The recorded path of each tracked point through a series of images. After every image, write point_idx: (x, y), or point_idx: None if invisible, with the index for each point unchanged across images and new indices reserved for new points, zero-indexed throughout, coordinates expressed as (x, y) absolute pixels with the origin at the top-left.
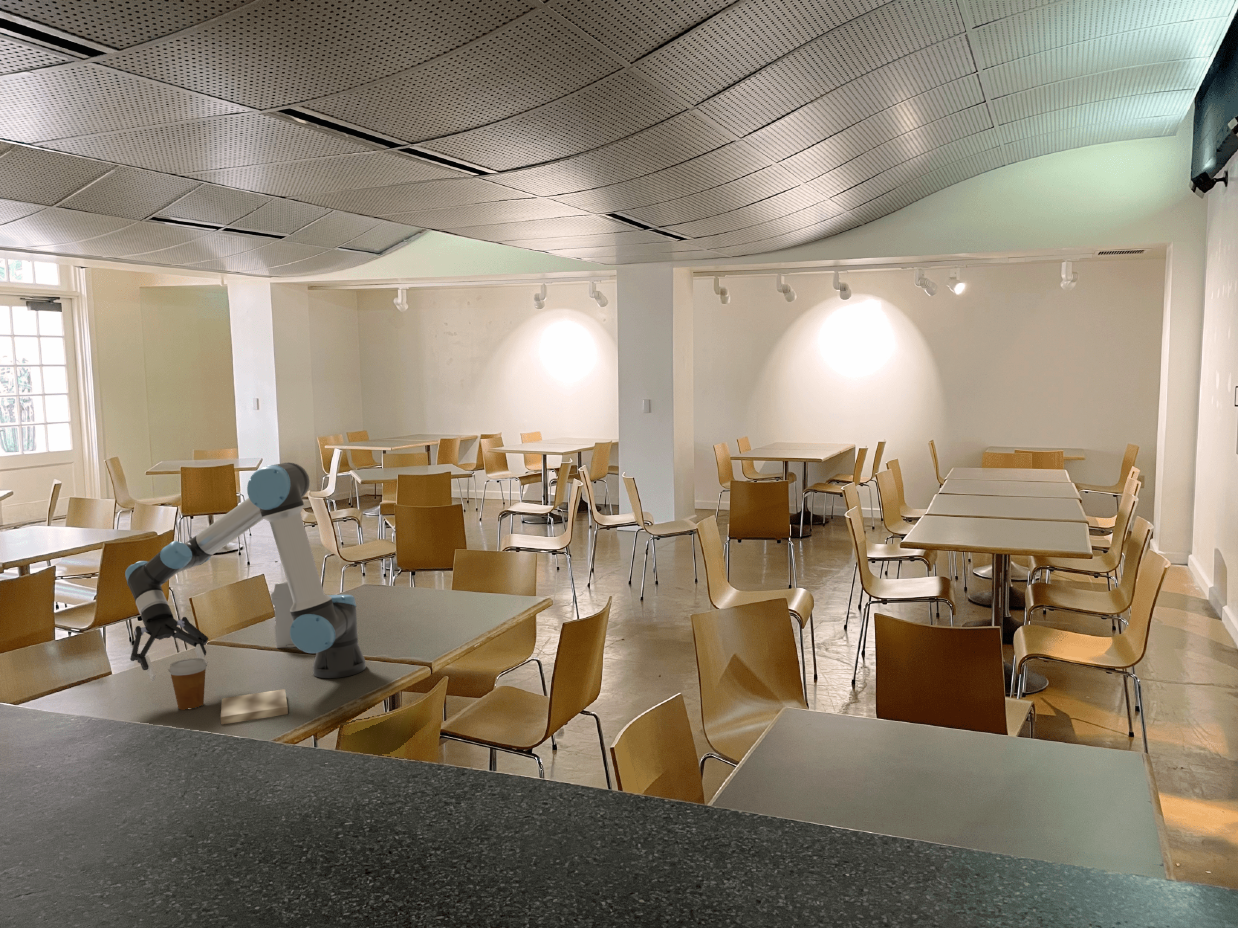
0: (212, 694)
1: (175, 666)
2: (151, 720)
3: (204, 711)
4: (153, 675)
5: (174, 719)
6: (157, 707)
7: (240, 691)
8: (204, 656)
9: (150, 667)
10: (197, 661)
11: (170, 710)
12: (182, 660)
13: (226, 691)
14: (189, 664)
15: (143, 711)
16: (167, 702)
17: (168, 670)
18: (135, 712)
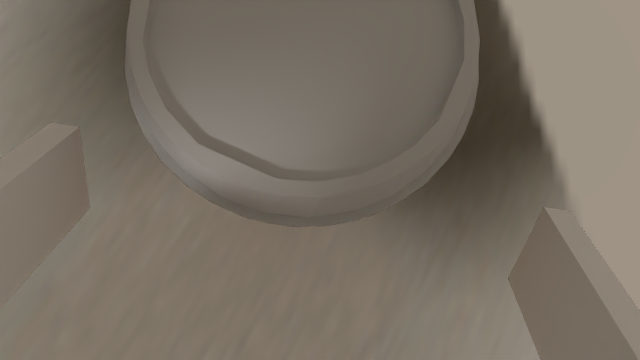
0: (114, 232)
1: (423, 69)
2: (524, 139)
3: None
4: (567, 213)
5: None
6: (408, 313)
7: (10, 129)
8: (4, 159)
9: (611, 277)
10: (198, 22)
11: None
12: (270, 180)
13: None
14: (307, 2)
15: (486, 320)
16: (330, 348)
17: (464, 130)
18: (519, 347)
